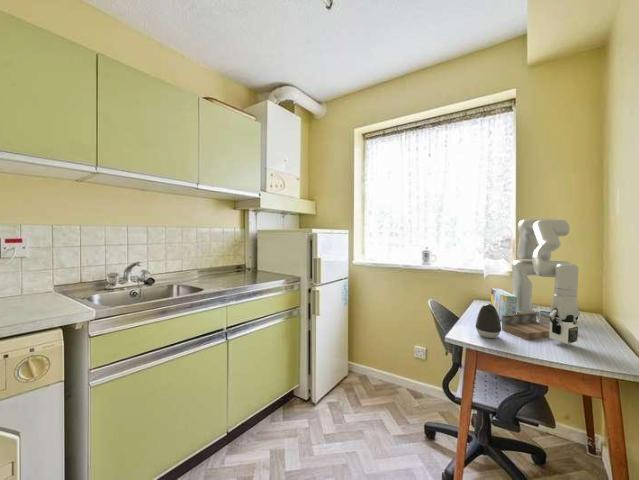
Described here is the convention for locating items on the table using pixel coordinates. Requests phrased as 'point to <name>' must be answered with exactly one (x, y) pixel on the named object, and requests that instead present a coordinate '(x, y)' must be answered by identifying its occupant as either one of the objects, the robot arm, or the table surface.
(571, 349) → the table surface
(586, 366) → the table surface
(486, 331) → the dark egg-shaped spouted container
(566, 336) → the medicine bottle
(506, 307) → the snack box
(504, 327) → the brown piece
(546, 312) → the medicine box
